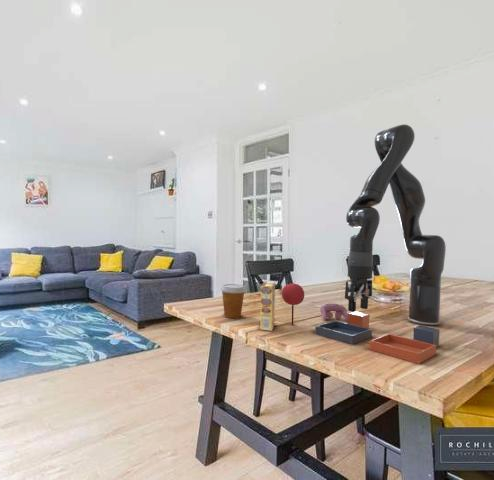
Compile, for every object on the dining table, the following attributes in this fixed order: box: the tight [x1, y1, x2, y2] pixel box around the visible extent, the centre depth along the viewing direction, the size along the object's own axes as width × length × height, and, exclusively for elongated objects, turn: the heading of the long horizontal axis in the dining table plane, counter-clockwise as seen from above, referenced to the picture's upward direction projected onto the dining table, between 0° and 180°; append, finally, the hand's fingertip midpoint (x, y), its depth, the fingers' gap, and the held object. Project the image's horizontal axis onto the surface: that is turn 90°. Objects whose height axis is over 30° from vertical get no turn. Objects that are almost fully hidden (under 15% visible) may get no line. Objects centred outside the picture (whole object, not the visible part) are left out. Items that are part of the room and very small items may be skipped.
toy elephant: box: [319, 302, 349, 322], centre depth 128 cm, size 10×5×7 cm, turn 84°
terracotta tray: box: [368, 333, 437, 365], centre depth 94 cm, size 12×12×3 cm
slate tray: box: [314, 320, 373, 345], centre depth 108 cm, size 12×12×3 cm
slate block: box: [412, 324, 440, 348], centre depth 100 cm, size 5×5×5 cm
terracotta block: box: [347, 311, 370, 329], centre depth 116 cm, size 5×5×5 cm
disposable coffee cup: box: [220, 283, 246, 319], centre depth 129 cm, size 10×10×12 cm
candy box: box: [259, 281, 276, 332], centre depth 115 cm, size 9×4×15 cm, turn 159°
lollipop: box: [281, 283, 305, 326], centre depth 119 cm, size 8×8×15 cm
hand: (358, 310), depth 116 cm, fingers open, 8 cm apart
